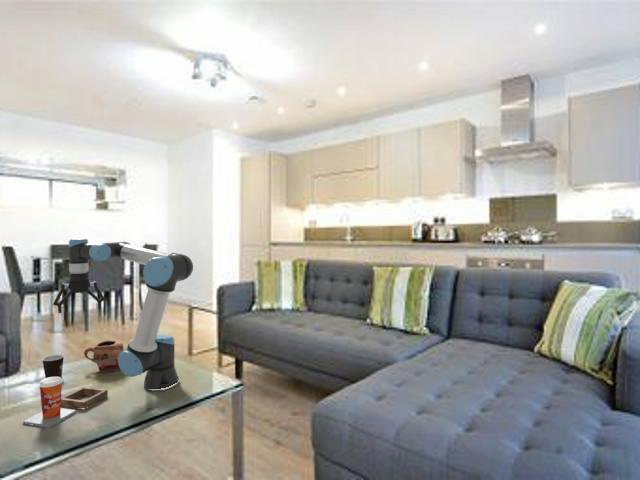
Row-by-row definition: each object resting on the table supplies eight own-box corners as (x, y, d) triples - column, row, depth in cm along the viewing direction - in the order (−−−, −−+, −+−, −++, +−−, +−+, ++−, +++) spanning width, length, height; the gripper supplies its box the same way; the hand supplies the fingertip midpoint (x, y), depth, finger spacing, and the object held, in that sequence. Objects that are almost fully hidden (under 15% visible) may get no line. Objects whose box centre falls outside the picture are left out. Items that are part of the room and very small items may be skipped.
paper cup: (45, 422, 147) (44, 385, 147) (35, 416, 151) (34, 381, 151) (67, 413, 154) (67, 378, 153) (57, 408, 158) (57, 374, 157)
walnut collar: (107, 396, 171) (107, 389, 171) (84, 409, 159) (84, 402, 159) (83, 393, 174) (83, 386, 174) (59, 406, 162) (59, 399, 162)
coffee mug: (53, 382, 185) (53, 361, 185) (38, 380, 187) (37, 360, 187) (73, 373, 197) (73, 353, 196) (59, 371, 199) (58, 352, 198)
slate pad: (76, 412, 157) (76, 410, 157) (48, 428, 145) (48, 425, 145) (51, 409, 159) (51, 406, 159) (23, 423, 148) (23, 421, 148)
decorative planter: (80, 376, 193) (79, 348, 192) (87, 367, 205) (86, 340, 204) (124, 372, 199) (124, 344, 198) (129, 363, 211) (128, 337, 210)
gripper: (109, 269, 190) (110, 313, 191) (46, 273, 177) (47, 319, 178) (110, 271, 183) (111, 316, 184) (45, 275, 170) (46, 323, 171)
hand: (80, 318), depth 181 cm, fingers open, 13 cm apart
